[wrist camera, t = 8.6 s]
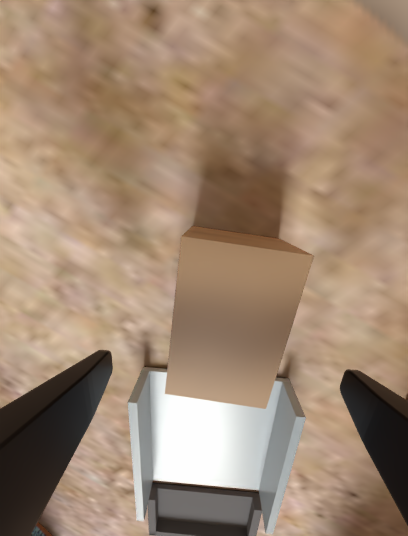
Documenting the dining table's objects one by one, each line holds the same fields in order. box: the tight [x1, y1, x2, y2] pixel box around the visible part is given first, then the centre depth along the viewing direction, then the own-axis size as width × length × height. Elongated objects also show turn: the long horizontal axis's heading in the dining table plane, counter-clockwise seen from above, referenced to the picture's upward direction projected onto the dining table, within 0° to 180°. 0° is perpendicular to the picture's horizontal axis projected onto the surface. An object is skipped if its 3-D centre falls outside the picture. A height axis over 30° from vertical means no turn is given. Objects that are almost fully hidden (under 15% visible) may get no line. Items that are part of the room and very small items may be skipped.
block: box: [165, 226, 314, 409], centre depth 10 cm, size 7×4×4 cm, turn 172°
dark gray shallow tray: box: [148, 483, 262, 536], centre depth 17 cm, size 5×9×1 cm, turn 87°
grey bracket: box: [128, 367, 306, 534], centre depth 13 cm, size 11×10×2 cm
